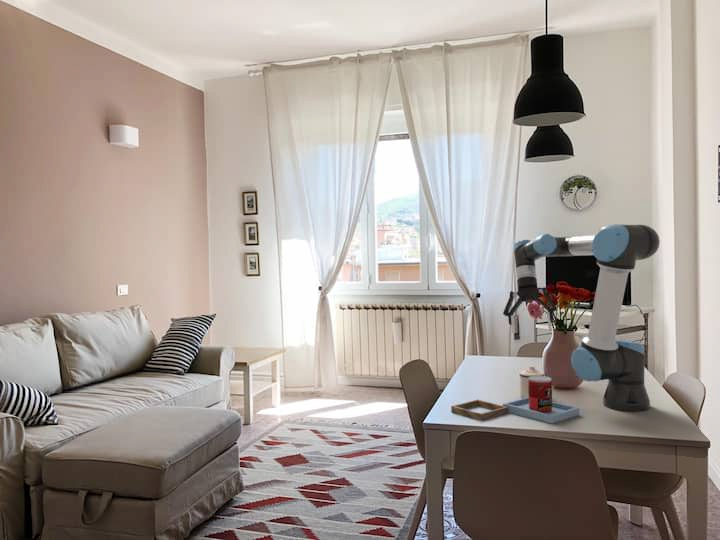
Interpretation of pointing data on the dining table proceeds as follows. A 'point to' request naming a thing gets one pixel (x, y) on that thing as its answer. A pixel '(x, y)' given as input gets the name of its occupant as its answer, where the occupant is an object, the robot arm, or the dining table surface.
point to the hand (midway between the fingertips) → (531, 331)
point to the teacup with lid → (524, 380)
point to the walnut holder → (495, 411)
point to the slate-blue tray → (555, 415)
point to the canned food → (540, 393)
